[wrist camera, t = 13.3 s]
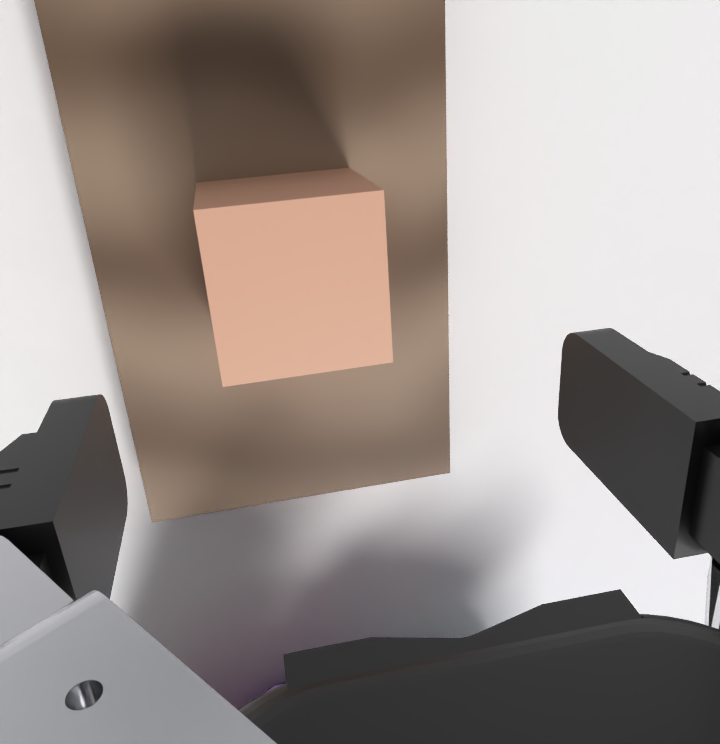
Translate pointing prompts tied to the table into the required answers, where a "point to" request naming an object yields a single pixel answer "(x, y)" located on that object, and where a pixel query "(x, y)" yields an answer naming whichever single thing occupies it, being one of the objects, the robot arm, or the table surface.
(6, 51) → the table surface
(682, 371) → the robot arm
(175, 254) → the walnut board
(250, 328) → the terracotta cube
